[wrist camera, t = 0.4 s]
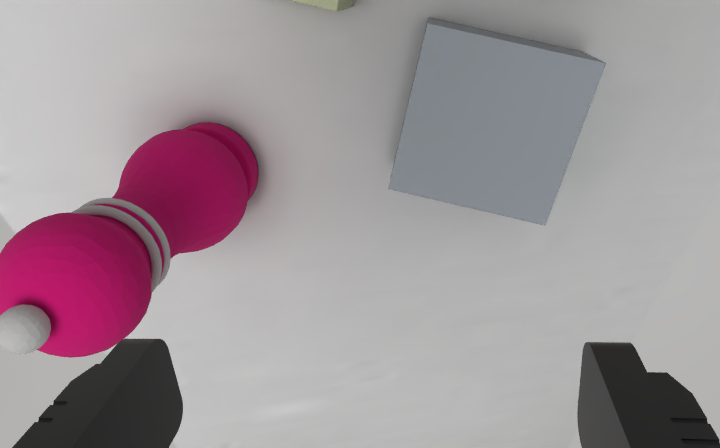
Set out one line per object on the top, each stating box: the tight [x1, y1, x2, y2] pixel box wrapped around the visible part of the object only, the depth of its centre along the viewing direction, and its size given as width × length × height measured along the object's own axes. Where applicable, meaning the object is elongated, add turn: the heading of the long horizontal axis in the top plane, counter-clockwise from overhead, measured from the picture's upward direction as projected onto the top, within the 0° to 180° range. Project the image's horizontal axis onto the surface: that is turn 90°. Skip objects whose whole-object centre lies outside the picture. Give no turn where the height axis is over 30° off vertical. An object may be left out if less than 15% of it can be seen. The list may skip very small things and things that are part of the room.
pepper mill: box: [0, 123, 258, 357], centre depth 29 cm, size 7×7×20 cm
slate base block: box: [388, 18, 606, 225], centre depth 32 cm, size 9×9×5 cm
